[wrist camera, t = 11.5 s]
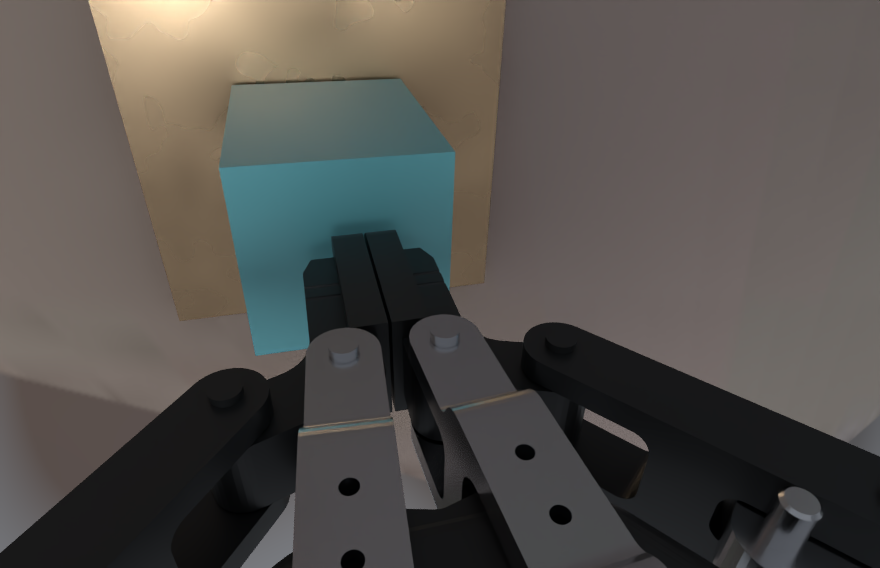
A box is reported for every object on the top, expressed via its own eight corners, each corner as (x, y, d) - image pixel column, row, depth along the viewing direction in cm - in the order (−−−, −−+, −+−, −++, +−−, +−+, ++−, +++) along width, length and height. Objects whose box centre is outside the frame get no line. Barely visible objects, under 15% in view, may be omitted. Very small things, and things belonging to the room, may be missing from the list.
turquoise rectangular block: (400, 78, 19) (455, 151, 13) (401, 222, 22) (447, 329, 16) (231, 85, 18) (218, 167, 12) (257, 235, 20) (255, 355, 15)
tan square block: (500, -47, 18) (606, -20, 13) (478, 272, 25) (541, 383, 19) (83, -48, 16) (-17, -17, 10) (182, 308, 22) (155, 448, 17)
